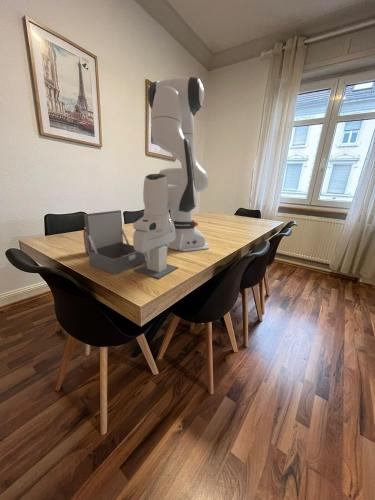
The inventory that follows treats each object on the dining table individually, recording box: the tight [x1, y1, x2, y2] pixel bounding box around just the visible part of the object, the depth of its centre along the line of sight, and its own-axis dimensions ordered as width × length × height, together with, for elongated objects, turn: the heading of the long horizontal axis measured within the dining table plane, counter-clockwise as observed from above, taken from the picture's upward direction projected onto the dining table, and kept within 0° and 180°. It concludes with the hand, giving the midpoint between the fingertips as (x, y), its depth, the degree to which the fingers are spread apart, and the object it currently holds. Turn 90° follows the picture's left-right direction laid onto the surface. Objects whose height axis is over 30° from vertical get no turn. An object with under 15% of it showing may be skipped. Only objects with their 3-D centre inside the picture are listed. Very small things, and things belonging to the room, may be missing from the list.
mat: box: [133, 263, 179, 280], centre depth 80 cm, size 12×12×1 cm
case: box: [83, 209, 146, 275], centre depth 82 cm, size 15×17×20 cm
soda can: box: [82, 226, 89, 255], centre depth 93 cm, size 7×7×12 cm
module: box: [146, 245, 168, 272], centre depth 79 cm, size 6×4×9 cm
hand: (156, 257), depth 79 cm, fingers open, 8 cm apart
